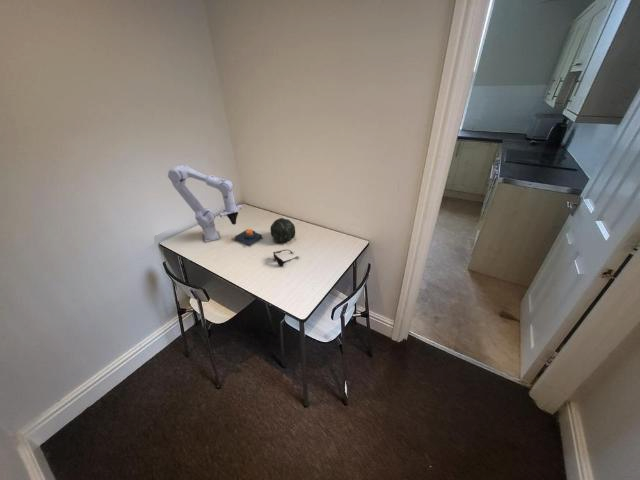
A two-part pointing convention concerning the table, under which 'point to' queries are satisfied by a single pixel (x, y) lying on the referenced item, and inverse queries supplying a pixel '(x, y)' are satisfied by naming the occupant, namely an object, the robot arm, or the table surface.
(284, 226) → the squash
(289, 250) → the sunglasses
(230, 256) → the table surface
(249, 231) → the orange button
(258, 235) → the dark blue button base
